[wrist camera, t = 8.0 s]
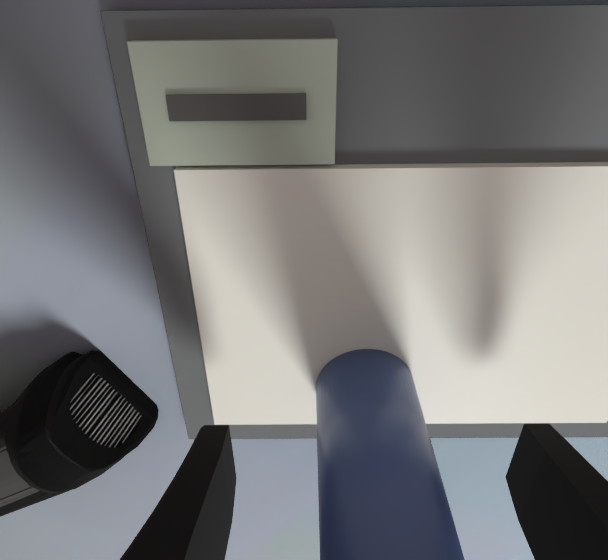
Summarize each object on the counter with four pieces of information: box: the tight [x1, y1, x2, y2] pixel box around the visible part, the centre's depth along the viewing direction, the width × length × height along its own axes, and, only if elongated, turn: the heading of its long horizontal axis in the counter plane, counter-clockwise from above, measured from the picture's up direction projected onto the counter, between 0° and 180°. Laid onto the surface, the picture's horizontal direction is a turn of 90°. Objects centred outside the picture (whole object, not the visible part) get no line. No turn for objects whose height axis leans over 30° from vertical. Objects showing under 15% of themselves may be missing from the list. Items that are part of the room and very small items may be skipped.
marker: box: [316, 349, 464, 560], centre depth 10 cm, size 3×3×7 cm
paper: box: [174, 162, 608, 425], centre depth 12 cm, size 12×8×1 cm, turn 91°
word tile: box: [127, 38, 338, 166], centre depth 9 cm, size 4×2×1 cm, turn 90°
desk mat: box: [100, 5, 608, 439], centre depth 12 cm, size 16×12×1 cm
